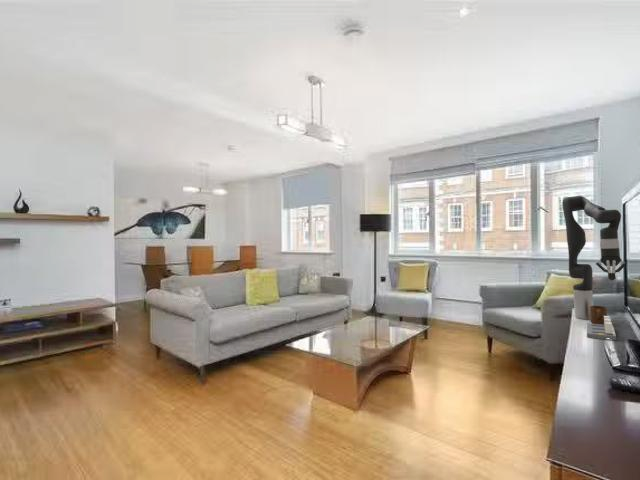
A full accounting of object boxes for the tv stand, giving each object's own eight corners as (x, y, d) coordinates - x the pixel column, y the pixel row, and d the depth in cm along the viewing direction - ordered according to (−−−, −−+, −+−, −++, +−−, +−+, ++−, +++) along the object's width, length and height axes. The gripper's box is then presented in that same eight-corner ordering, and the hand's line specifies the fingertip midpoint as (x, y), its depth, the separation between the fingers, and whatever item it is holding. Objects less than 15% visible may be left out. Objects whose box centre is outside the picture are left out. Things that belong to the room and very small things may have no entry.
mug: (609, 327, 183) (608, 310, 183) (591, 325, 187) (590, 309, 188) (606, 322, 193) (605, 306, 193) (590, 321, 197) (589, 305, 197)
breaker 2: (604, 328, 173) (604, 318, 173) (611, 328, 172) (610, 319, 172) (605, 329, 171) (604, 320, 171) (611, 330, 169) (610, 320, 169)
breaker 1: (604, 324, 179) (603, 315, 180) (610, 325, 178) (609, 316, 178) (604, 326, 177) (603, 316, 177) (610, 326, 176) (610, 317, 176)
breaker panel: (587, 326, 186) (587, 322, 186) (613, 329, 179) (613, 325, 179) (587, 337, 167) (586, 333, 167) (616, 340, 160) (616, 335, 160)
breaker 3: (605, 331, 167) (604, 322, 167) (612, 332, 165) (611, 322, 166) (605, 333, 165) (605, 323, 165) (612, 333, 163) (611, 323, 163)
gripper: (593, 248, 178) (595, 280, 178) (627, 247, 170) (629, 281, 169) (593, 247, 184) (595, 279, 184) (626, 246, 176) (628, 279, 175)
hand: (612, 280), depth 177 cm, fingers closed
